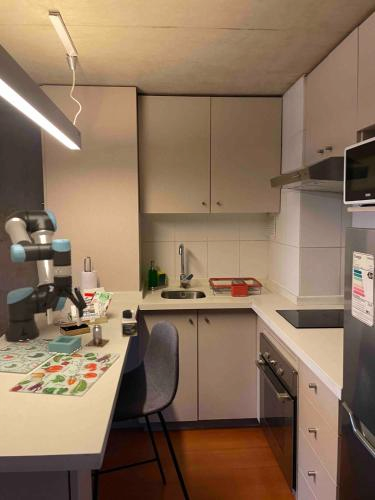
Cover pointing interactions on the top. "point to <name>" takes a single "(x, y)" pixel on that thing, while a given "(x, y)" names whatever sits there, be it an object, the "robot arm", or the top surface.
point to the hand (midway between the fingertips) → (64, 324)
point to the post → (97, 337)
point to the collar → (65, 344)
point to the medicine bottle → (128, 323)
